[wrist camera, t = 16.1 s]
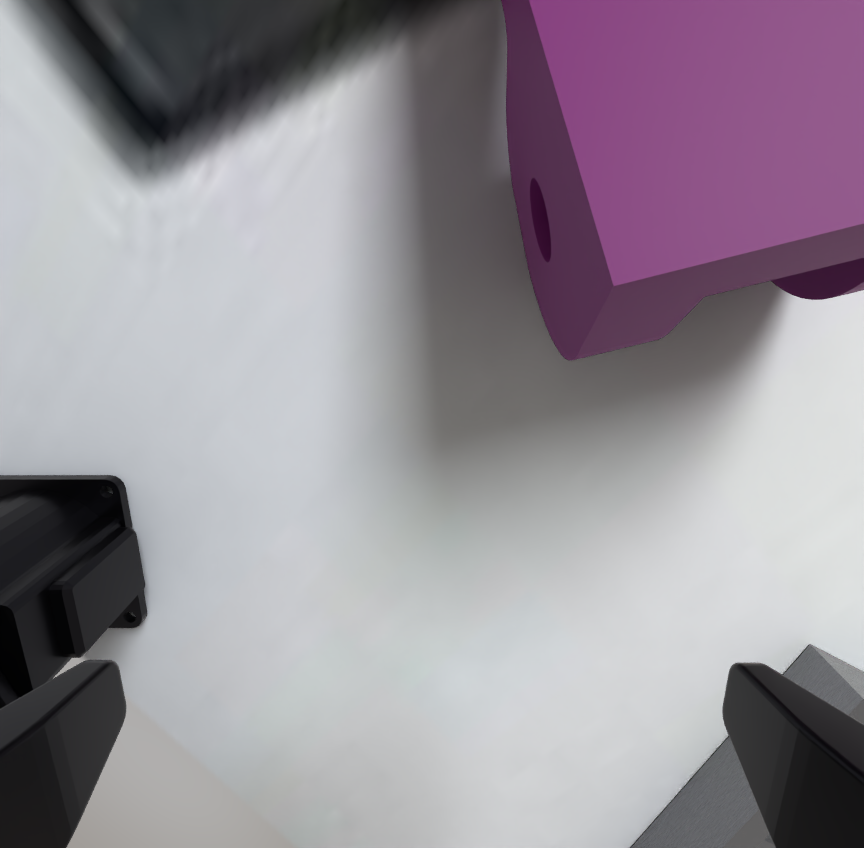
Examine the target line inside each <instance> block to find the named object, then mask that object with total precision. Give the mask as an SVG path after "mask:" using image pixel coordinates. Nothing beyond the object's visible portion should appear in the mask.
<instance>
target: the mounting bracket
mask: <svg viewBox="0 0 864 848" xmlns="http://www.w3.org/2000/svg"><path fill="white" fill-rule="evenodd" d="M501 1H502V6H503V11H504V16H505V23H506V32H507V89H506V123H507V140H508V152H509V162H510V171H511V179H512V186H513V192H514V197H515V202H516V207H517V213H518V218H519V223H520V228H521V233H522V238H523V244H524V249H525V254H526V259H527V264H528V269H529V273H530V277H531V281H532V284H533V288H534V291H535V295H536V298H537V301H538V305H539V308H540V311H541V313H542V316H543V319H544V322H545V324H546V327H547V329H548V332H549V334H550V336H551V338H552V340H553V342H554V344H555V346H556V348H557V349H558V351H559V352H560V354H561V355H562V356H563V357H564V358H565V359H567V360H576V359H580V358H584V357H588V356H592V355H597V354H601V353H605V352H609V351H613V350H617V349H621V348H626V347H630V346H634V345H638V344H642V343H646V342H650V341H655V340H659V339H661V338H663V337H665V336H666V335H667V334H668V333H669V332H670V331H671V330H672V329H673V328H674V327H675V326H676V325H677V324H678V323H679V322H680V321H681V320H682V319H683V318H684V317H685V316H686V315H687V314H688V313H689V312H690V311H691V310H692V309H693V308H694V307H695V306H696V305H697V304H698V303H699V302H700V301H701V300H702V299H703V298H704V297H706V296H710V295H714V294H718V293H722V292H726V291H730V290H734V289H738V288H742V287H746V286H750V285H754V284H759V283H763V282H767V281H772V282H773V283H774V284H775V285H776V286H778V287H779V288H781V289H782V290H784V291H786V292H788V293H790V294H792V295H794V296H797V297H800V298H805V299H811V300H818V299H827V298H833V297H837V296H841V295H845V294H849V293H853V292H857V291H862V290H864V0H501Z"/></svg>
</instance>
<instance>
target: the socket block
mask: <svg viewBox="0 0 864 848" xmlns="http://www.w3.org/2000/svg"><path fill="white" fill-rule="evenodd" d="M783 676H785V677H787V678H788V679H790V680H792V681H793V682H795V683H797V684H798V685H800V686H801V687H803V688H805V689H806V690H808V691H810V692H811V693H813V694H815V695H816V696H818V697H820V698H821V699H823V700H824V701H826V702H828V703H829V704H831V705H833V706H834V707H836V708H838V709H839V710H841V711H842V712H844V713H846V714H847V715H849V716H851V717H852V718H854V719H856V720H857V721H859V722H861V723H862V724H864V672H863V671H861V670H859V669H857V668H855V667H853V666H851V665H849V664H847V663H845V662H843V661H842V660H840V659H838V658H836V657H834V656H832V655H830V654H828V653H826V652H824V651H822V650H820V649H818V648H817V647H815V646H813V645H811V644H810V645H809V646H808V647H807V648H806V650H805V651H804V652H803V653H802V654H801V655H800V656H799V658H798V659H797V660H796V661H795V662H794V663H793V664H792V665H791V667H790V668H789V669H788V670H787V671H786V672H785V673H784V675H783ZM631 848H775V846H774V843H773V841H772V839H771V837H770V835H769V832H768V830H767V828H766V825H765V823H764V821H763V818H762V816H761V813H760V811H759V808H758V806H757V804H756V801H755V799H754V796H753V794H752V791H751V789H750V786H749V784H748V781H747V779H746V776H745V774H744V771H743V769H742V767H741V764H740V762H739V759H738V757H737V754H736V752H735V749H734V747H733V744H732V742H731V739H730V737H728V738H727V739H726V740H725V741H724V743H723V744H722V745H721V746H720V747H719V748H718V749H717V751H716V752H715V753H714V754H713V755H712V756H711V757H710V759H709V760H708V761H707V762H706V763H705V764H704V765H703V766H702V768H701V769H700V770H699V771H698V772H697V773H696V774H695V776H694V777H693V778H692V779H691V780H690V781H689V782H688V783H687V785H686V786H685V787H684V788H683V789H682V790H681V791H680V793H679V794H678V795H677V796H676V797H675V798H674V799H673V800H672V802H671V803H670V804H669V805H668V806H667V807H666V808H665V810H664V811H663V812H662V813H661V814H660V815H659V816H658V818H657V819H656V820H655V821H654V822H653V823H652V824H651V825H650V827H649V828H648V829H647V830H646V831H645V832H644V833H643V835H642V836H641V837H640V838H639V839H638V840H637V841H636V842H635V844H634V845H633V846H632V847H631Z"/></svg>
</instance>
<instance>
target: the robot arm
mask: <svg viewBox="0 0 864 848" xmlns="http://www.w3.org/2000/svg"><path fill="white" fill-rule="evenodd" d="M106 486H109V487H111V488H112V490H113V494H112V493H109V492H108V491H107V489H106ZM144 587H145V582H144V576H143V571H142V565H141V559H140V553H139V547H138V542H137V536H136V532H135V531H134V530H133V528H132V523H131V517H130V511H129V505H128V500H127V494H126V488H125V485H124V483H123V482H122V481H121V479H119V478H118V477H116V476H111V475H0V848H66V847H67V845H68V843H69V841H70V840H71V838H72V836H73V834H74V832H75V830H76V828H77V825H78V823H79V821H80V819H81V817H82V815H83V813H84V810H85V808H86V806H87V804H88V801H89V799H90V797H91V795H92V792H93V790H94V788H95V785H96V784H97V781H98V779H99V777H100V774H101V772H102V770H103V767H104V766H105V763H106V761H107V759H108V757H109V754H110V752H111V750H112V747H113V745H114V743H115V741H116V739H117V736H118V734H119V732H120V730H121V727H122V725H123V722H124V719H125V715H126V701H125V696H124V691H123V686H122V681H121V675H120V670H119V667H118V665H117V664H116V662H114V661H112V660H87V661H84V662H82V663H80V664H78V665H76V666H74V667H73V668H71V669H69V670H67V671H66V672H64V673H62V674H60V675H59V676H57V677H55V678H54V679H53V677H54V676H55V675H56V674H57V673H58V672H59V671H60V670H61V669H62V668H63V667H64V665H66V663H67V662H68V661H69V660H70V659H71V658H80V657H81V656H83V655H84V654H85V653H86V652H87V651H88V650H89V648H90V647H91V646H92V645H93V644H94V643H95V642H96V641H97V640H98V638H99V637H100V636H101V635H102V634H103V633H104V632H105V631H106V630H107V629H108V628H134V627H137V626H139V625H140V624H141V623H142V621H143V620H144V619H145V617H146V616H147V608H146V603H145V597H144V591H143V589H144ZM129 612H132V613H133V614H135V616H136V617H135V616H132V615H131V614H130V613H129ZM723 720H724V724H725V727H726V730H727V732H728V735H729V737H730V739H731V742H732V744H733V747H734V749H735V752H736V754H737V757H738V759H739V762H740V764H741V767H742V769H743V771H744V774H745V776H746V779H747V781H748V784H749V786H750V789H751V791H752V794H753V796H754V799H755V801H756V804H757V806H758V808H759V811H760V813H761V816H762V818H763V821H764V823H765V825H766V828H767V830H768V832H769V835H770V837H771V839H772V841H773V843H774V846H775V848H864V724H862V723H861V722H859V721H857V720H856V719H854V718H852V717H851V716H849V715H847V714H846V713H844V712H842V711H841V710H839V709H838V708H836V707H834V706H833V705H831V704H829V703H828V702H826V701H824V700H823V699H821V698H820V697H818V696H816V695H815V694H813V693H811V692H810V691H808V690H806V689H805V688H803V687H801V686H800V685H798V684H797V683H795V682H793V681H792V680H790V679H788V678H787V677H785V676H783V675H782V674H780V673H778V672H777V671H775V670H774V669H772V668H770V667H769V666H767V665H765V664H762V663H735V664H733V665H732V666H731V668H730V670H729V674H728V680H727V685H726V691H725V697H724V702H723Z"/></svg>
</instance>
